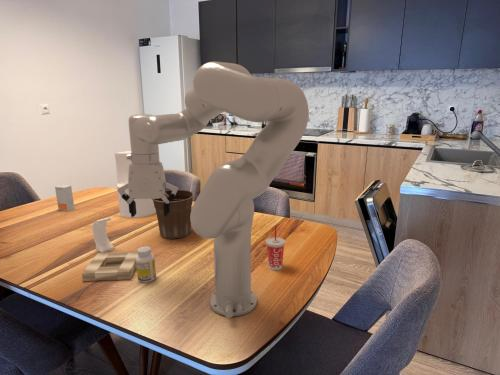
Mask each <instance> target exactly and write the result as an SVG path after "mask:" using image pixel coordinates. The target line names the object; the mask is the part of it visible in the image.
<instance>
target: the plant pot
mask: <svg viewBox="0 0 500 375" xmlns="http://www.w3.org/2000/svg"><path fill="white" fill-rule="evenodd" d="M171 193H172V190H170V189H166V194H167V195H168V196H170V195H171ZM194 196H195V194H194V192H193V191H190V190H187V189H186V190H185V189H178V191H177V193H176V195H175V197H174V198H173V199H172V200H171V201H170V213H168V215H167V216H164V203H165V202H164V201H163V200H162V199H161V198H158V199H152V200H153V203H154V207H155V209H156V213H155V214H156V220H157V225H158V230H159V234H160V236H161V237H162V238H164V239H170V240H175V239H176V238H177V239H183V238H185V237H187V236H189V235H190V234H191V232H192V225H191V221H190V214H191V210H192V207H193V199H194Z"/></svg>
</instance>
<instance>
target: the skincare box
mask: <svg viewBox="0 0 500 375" xmlns="http://www.w3.org/2000/svg"><path fill="white" fill-rule="evenodd" d="M54 189H55V196H56V201H57V209H58V211H63V212H70V211H73V210H75V202H74V196H73V195H74V194H73V190H72V189H73V188H72V185H68V184H59V185H56V186H54Z"/></svg>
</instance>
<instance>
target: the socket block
mask: <svg viewBox="0 0 500 375" xmlns="http://www.w3.org/2000/svg"><path fill="white" fill-rule="evenodd" d="M137 256H138V254H137V251H117V252H104V253H101V252H97V254H96V255H95V256H94V257H93V258H92V260H91V261H90V263H89V264H88V265H87V266H86V268H85V269H84V270H83V271H82V272H81V277H82V282H94V281H95V282H96V281H116V280H117V281H119V280H131V279H132V277H133V275H134V273H135V270H137V268H136V257H137Z"/></svg>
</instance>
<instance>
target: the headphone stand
mask: <svg viewBox="0 0 500 375" xmlns="http://www.w3.org/2000/svg"><path fill="white" fill-rule="evenodd" d="M111 220H112V217H105V218H101V219H98V220H95V221H93V223H92V228H91V230H92V237H93V240H94V243H95V245H96V246H95V249H96V250H97V251H98V252H99V253H108V252H109V251H112V250H115V246H114V245H113V244H112V243H111V241H110V240H109V237H108V234H107V222H109V221H111Z"/></svg>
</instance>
